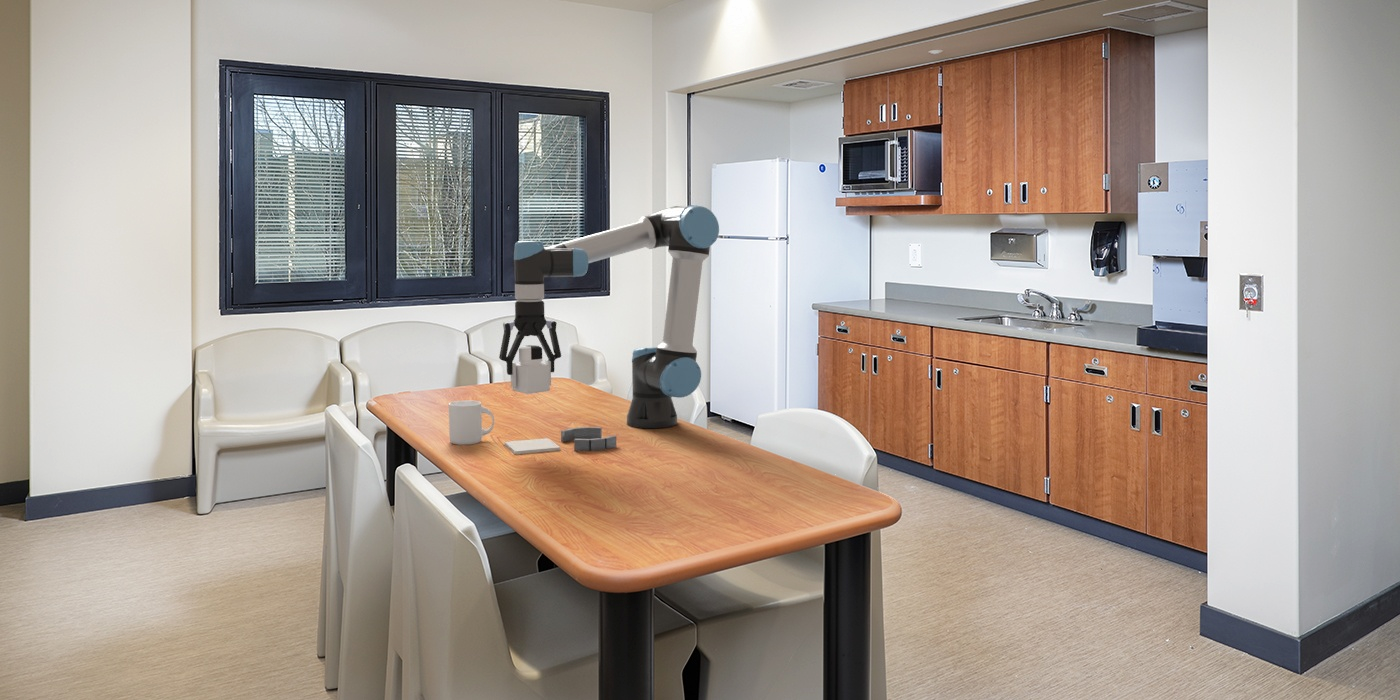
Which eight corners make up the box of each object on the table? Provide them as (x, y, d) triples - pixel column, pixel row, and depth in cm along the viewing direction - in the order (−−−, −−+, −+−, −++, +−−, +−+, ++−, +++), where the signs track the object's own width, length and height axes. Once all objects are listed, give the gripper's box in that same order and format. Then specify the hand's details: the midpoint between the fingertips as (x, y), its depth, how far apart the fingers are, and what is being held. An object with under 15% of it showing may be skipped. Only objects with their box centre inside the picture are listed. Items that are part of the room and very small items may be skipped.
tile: (548, 441, 264) (547, 438, 264) (560, 450, 253) (560, 447, 253) (504, 444, 259) (504, 441, 259) (515, 454, 248) (515, 451, 248)
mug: (496, 443, 261) (496, 404, 260) (451, 446, 257) (450, 406, 256) (492, 436, 269) (491, 398, 268) (448, 439, 265) (447, 401, 264)
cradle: (599, 436, 270) (599, 425, 270) (619, 448, 255) (619, 437, 255) (559, 439, 265) (558, 429, 265) (576, 452, 250) (576, 441, 250)
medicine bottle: (534, 387, 259) (533, 343, 257) (550, 391, 254) (549, 346, 252) (512, 390, 254) (511, 345, 253) (527, 394, 249) (526, 348, 247)
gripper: (565, 298, 259) (566, 381, 262) (485, 300, 250) (487, 386, 253) (573, 300, 252) (574, 385, 255) (491, 302, 243) (493, 390, 246)
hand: (531, 385), depth 254 cm, fingers closed on medicine bottle, 9 cm apart
